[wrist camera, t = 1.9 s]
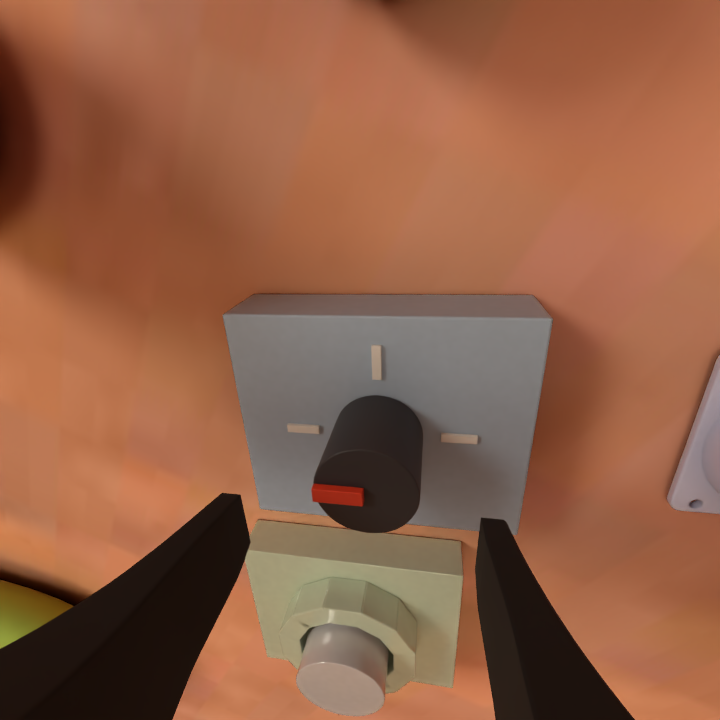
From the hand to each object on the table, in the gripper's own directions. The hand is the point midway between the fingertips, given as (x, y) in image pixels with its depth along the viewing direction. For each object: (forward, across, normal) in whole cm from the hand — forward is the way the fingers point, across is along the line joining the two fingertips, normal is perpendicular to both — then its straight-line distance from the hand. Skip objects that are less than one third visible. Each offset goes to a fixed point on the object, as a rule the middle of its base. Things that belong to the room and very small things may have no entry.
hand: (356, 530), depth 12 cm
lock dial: (+5, 0, 0) cm, 5 cm away
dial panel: (+8, 0, 0) cm, 8 cm away
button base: (+8, +2, +14) cm, 16 cm away
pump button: (+5, +2, +14) cm, 15 cm away
